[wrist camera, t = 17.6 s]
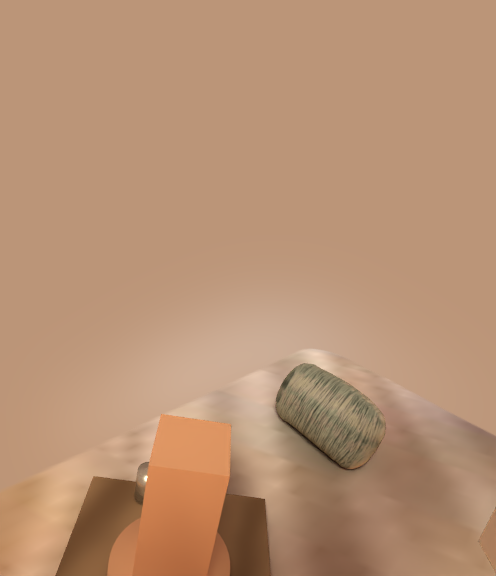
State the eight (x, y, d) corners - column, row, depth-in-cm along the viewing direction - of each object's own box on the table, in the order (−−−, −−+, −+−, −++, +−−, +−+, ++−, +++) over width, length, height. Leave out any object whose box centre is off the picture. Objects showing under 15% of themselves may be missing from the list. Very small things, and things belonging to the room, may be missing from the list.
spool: (248, 392, 56) (305, 335, 54) (287, 403, 64) (338, 352, 62) (313, 492, 48) (382, 428, 46) (349, 491, 55) (411, 435, 53)
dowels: (222, 497, 43) (228, 472, 42) (222, 515, 41) (228, 489, 40) (136, 486, 42) (140, 460, 41) (131, 503, 40) (135, 477, 39)
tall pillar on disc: (227, 530, 40) (257, 411, 35) (225, 644, 31) (263, 506, 27) (122, 517, 39) (138, 393, 34) (90, 630, 30) (106, 485, 26)
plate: (261, 510, 44) (264, 498, 44) (274, 716, 29) (279, 702, 29) (92, 488, 43) (93, 476, 42) (15, 693, 28) (16, 678, 27)
